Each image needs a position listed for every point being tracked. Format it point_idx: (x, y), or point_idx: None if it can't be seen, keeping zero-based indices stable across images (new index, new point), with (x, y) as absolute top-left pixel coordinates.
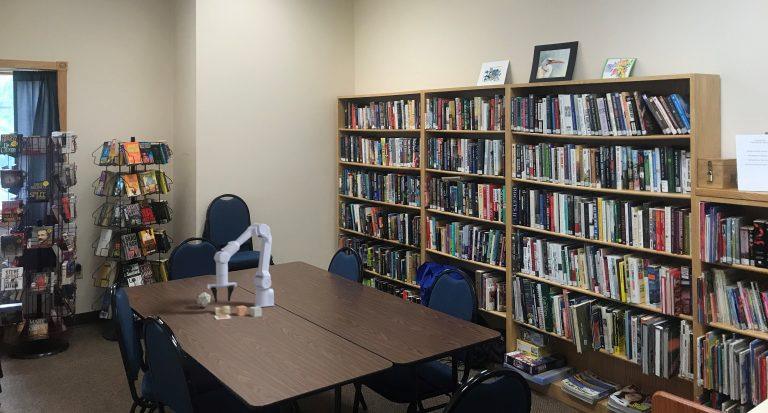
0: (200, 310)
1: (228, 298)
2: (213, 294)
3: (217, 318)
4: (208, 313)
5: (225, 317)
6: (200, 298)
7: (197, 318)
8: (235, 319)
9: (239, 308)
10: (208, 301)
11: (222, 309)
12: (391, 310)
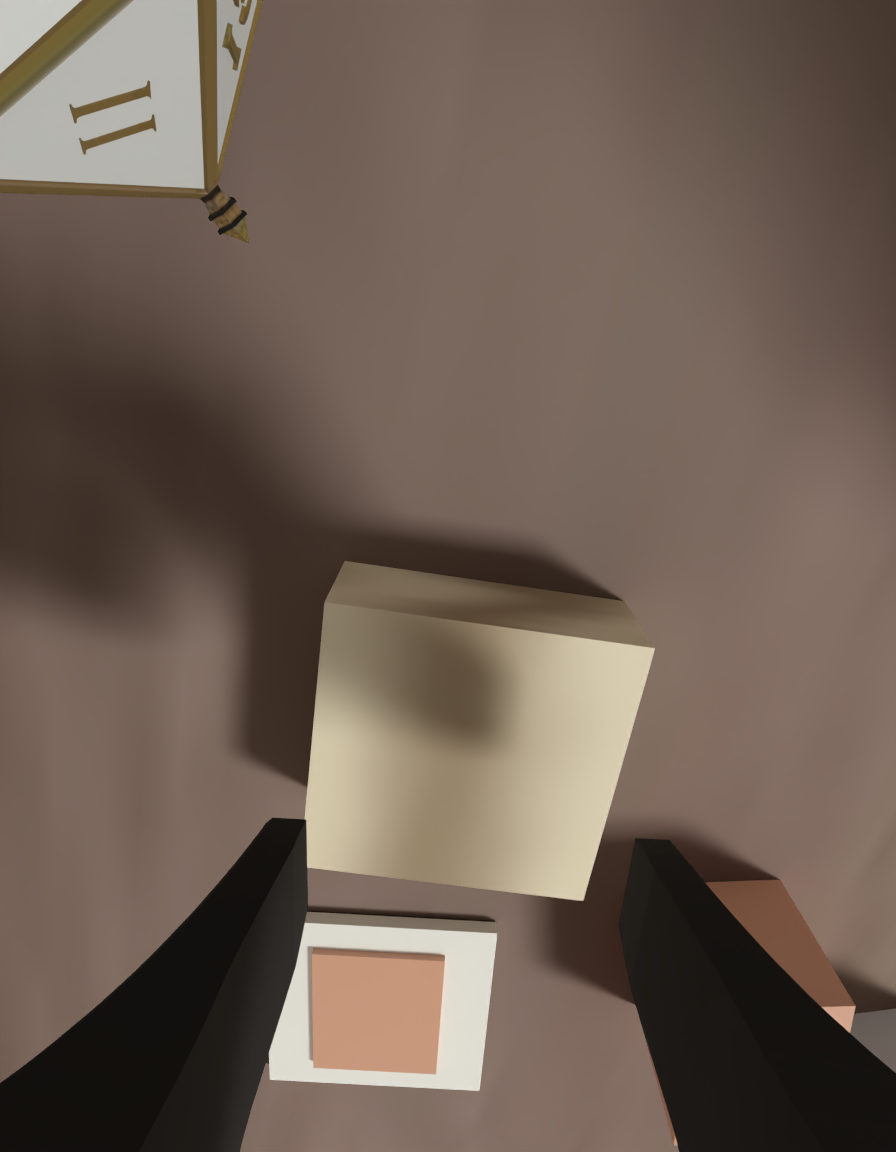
0: (47, 237)
1: (642, 980)
2: (130, 1012)
3: (287, 1065)
4: (203, 636)
5: (405, 1066)
6: None
7: (3, 895)
8: (513, 1139)
9: (675, 1138)
10: (158, 179)
11: (429, 876)
12: None
